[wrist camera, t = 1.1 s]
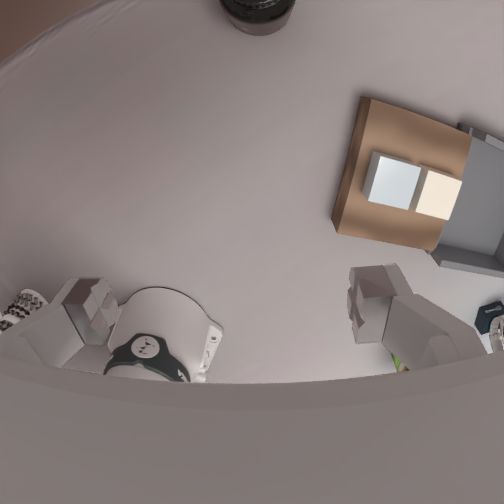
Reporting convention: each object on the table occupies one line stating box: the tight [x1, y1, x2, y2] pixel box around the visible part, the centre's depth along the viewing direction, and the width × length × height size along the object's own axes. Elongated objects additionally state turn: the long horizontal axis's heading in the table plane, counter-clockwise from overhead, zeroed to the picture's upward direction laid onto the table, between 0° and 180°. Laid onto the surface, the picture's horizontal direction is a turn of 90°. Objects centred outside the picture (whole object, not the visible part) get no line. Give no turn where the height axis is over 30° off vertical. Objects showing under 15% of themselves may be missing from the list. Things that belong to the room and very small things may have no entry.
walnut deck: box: [331, 97, 473, 251], centre depth 35 cm, size 16×14×4 cm
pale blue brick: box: [362, 151, 421, 210], centre depth 32 cm, size 5×5×2 cm
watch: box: [475, 301, 504, 353], centre depth 43 cm, size 6×8×11 cm
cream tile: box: [409, 164, 462, 220], centre depth 32 cm, size 5×5×2 cm
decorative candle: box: [0, 289, 49, 335], centre depth 41 cm, size 9×9×25 cm
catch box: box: [425, 123, 504, 278], centre depth 34 cm, size 18×16×6 cm
